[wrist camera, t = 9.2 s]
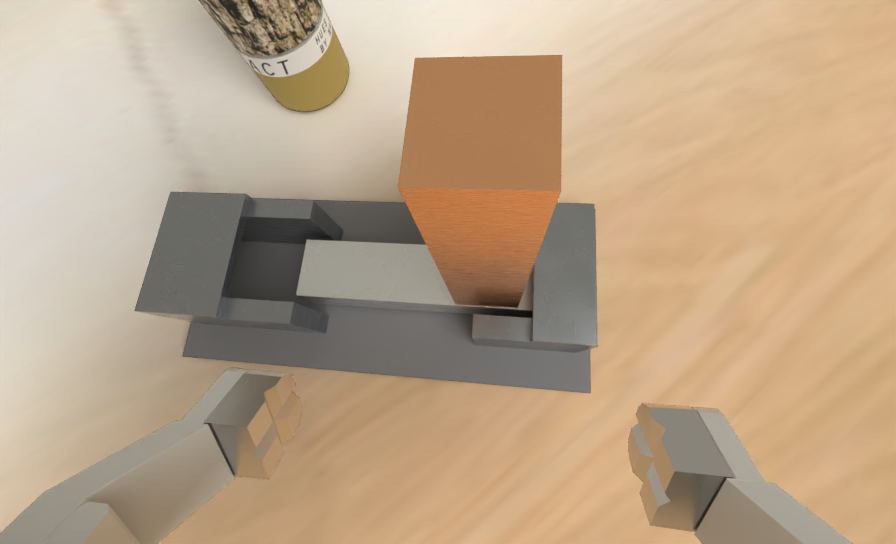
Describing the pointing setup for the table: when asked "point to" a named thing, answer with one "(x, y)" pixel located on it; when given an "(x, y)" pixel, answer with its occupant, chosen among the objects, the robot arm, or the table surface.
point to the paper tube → (286, 48)
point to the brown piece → (461, 194)
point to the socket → (555, 291)
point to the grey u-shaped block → (227, 259)
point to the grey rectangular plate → (373, 321)
